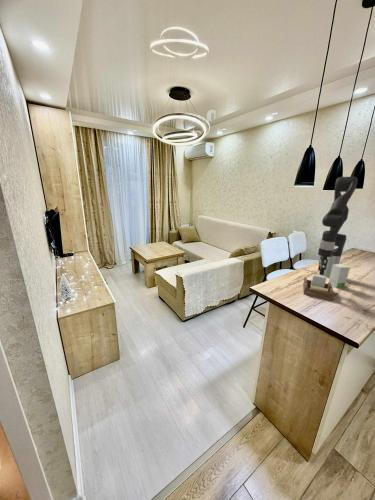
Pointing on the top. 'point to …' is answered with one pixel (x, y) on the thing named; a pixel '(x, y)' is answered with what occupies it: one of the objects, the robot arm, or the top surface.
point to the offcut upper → (319, 288)
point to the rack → (317, 293)
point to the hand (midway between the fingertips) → (320, 272)
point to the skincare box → (339, 275)
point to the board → (318, 281)
